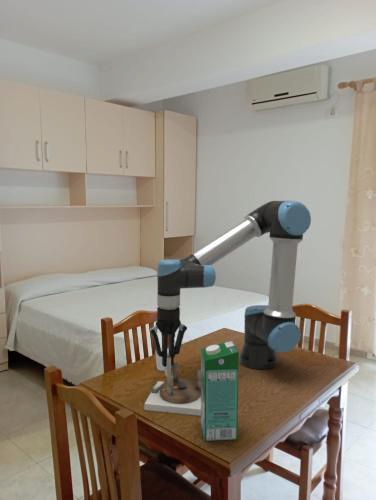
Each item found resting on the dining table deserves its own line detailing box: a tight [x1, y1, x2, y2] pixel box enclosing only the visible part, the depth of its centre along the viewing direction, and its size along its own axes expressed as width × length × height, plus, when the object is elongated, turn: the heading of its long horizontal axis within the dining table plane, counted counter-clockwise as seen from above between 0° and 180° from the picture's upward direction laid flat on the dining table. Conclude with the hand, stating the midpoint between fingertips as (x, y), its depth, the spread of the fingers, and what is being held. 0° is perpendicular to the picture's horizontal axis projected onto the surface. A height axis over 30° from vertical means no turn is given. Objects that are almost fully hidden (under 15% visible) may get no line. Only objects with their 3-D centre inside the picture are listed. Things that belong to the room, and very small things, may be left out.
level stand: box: [143, 380, 201, 417], centre depth 130 cm, size 20×16×4 cm
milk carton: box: [200, 340, 240, 442], centre depth 112 cm, size 9×9×25 cm
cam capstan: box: [160, 361, 201, 403], centre depth 131 cm, size 14×14×8 cm
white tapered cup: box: [154, 347, 169, 372], centre depth 156 cm, size 7×7×7 cm
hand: (167, 374), depth 135 cm, fingers closed
